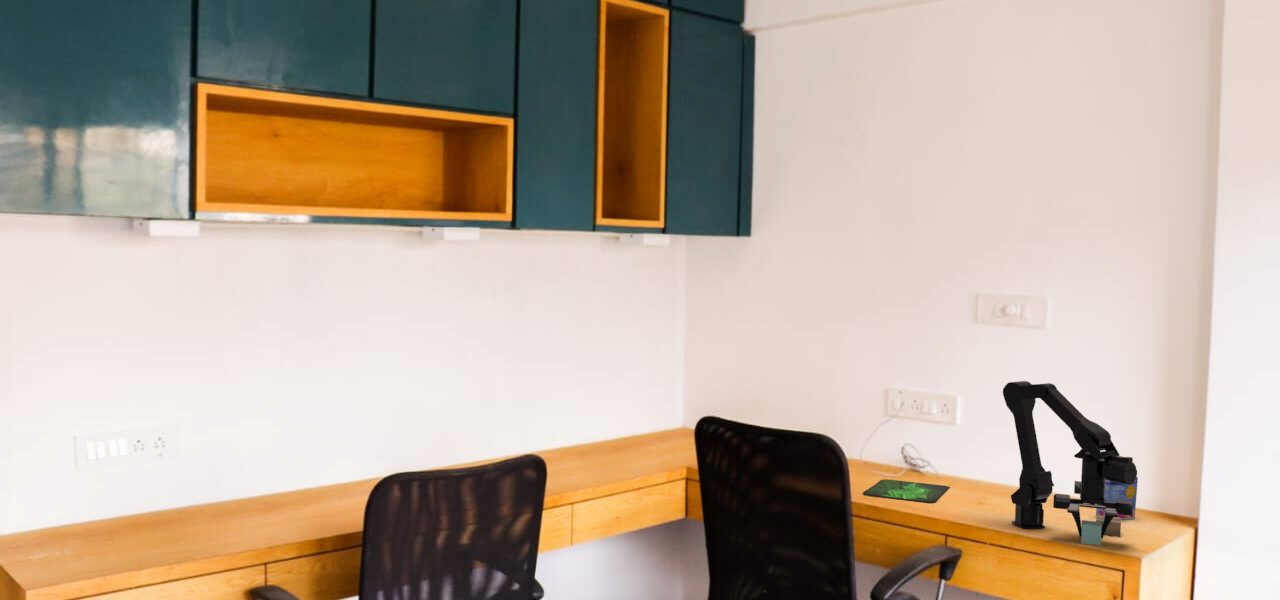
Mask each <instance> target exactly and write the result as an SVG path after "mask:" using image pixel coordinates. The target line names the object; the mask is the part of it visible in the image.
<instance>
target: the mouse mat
mask: <svg viewBox="0 0 1280 600" xmlns="http://www.w3.org/2000/svg"><path fill="white" fill-rule="evenodd" d="M949 489H951V487H950V486H948V485H944V484H943V485H941V484H933V483H926V482H925V483H923V482H914V481H907V480H898V479H897V480H896V479H888V478H887V479H885V478H884V479H880V480H879V481H878V482H876V483H875V484H874V485H872V486H871V487H869V488H867V489H866V490H864V491H862V494H863V495H864V496H866V497H876V498H884V499H892V500H901V501H911V502H919V503H928V504H929V503H931V504H932V503H936V502H937V501H938V500H939V499H940V498H941V497H942V496H943V495H945V493H946V492H948V490H949Z"/></svg>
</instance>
